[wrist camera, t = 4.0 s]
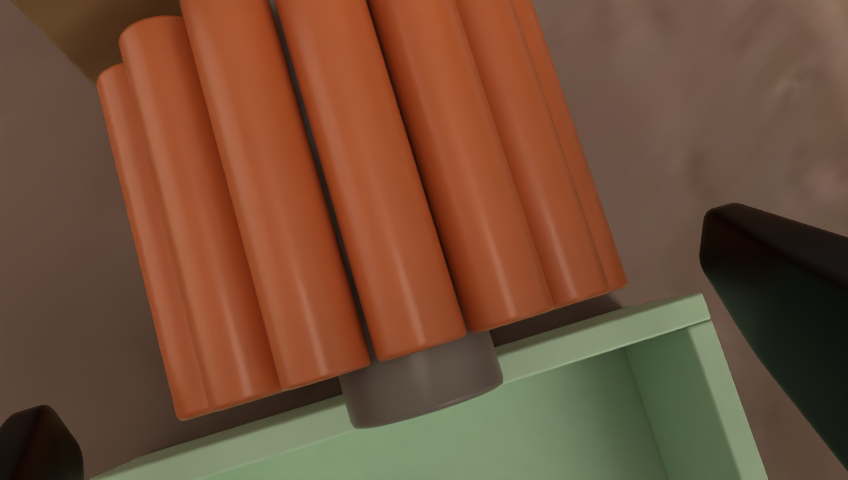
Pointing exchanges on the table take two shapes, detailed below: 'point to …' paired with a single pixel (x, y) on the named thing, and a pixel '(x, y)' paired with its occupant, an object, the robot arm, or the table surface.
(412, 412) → the ring stand
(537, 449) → the bin
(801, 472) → the table surface
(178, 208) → the ring
